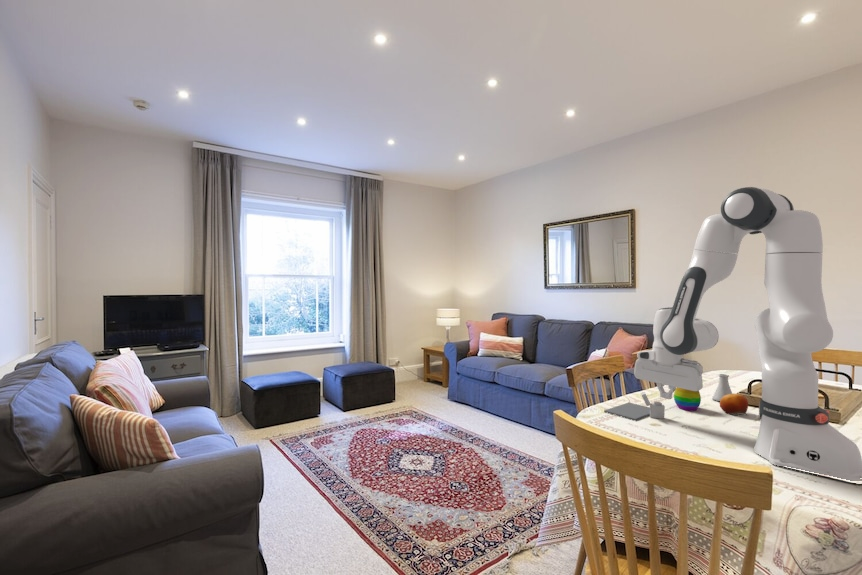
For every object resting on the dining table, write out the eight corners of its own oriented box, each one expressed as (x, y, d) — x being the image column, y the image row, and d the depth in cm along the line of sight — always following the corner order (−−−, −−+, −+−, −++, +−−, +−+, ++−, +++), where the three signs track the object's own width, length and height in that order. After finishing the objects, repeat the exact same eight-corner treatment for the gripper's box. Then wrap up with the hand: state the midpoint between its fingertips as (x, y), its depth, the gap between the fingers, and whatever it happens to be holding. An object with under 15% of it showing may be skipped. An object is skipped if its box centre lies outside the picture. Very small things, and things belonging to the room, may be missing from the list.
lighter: (663, 417, 138) (664, 393, 138) (664, 419, 137) (665, 395, 136) (639, 414, 140) (640, 391, 140) (640, 416, 139) (641, 393, 139)
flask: (707, 399, 159) (708, 373, 158) (719, 397, 162) (719, 372, 162) (728, 404, 152) (728, 377, 152) (739, 402, 155) (739, 375, 155)
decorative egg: (701, 413, 142) (701, 384, 142) (673, 409, 147) (673, 381, 146) (700, 407, 149) (700, 379, 149) (674, 403, 154) (674, 377, 153)
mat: (659, 411, 144) (659, 409, 144) (635, 420, 135) (635, 418, 135) (628, 404, 153) (628, 402, 153) (604, 412, 144) (604, 410, 144)
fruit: (742, 415, 135) (730, 391, 139) (722, 421, 142) (711, 398, 146) (760, 413, 138) (748, 389, 141) (740, 418, 144) (729, 396, 148)
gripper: (707, 361, 128) (705, 405, 128) (642, 350, 145) (640, 389, 145) (698, 363, 124) (696, 408, 125) (632, 352, 141) (631, 392, 141)
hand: (665, 398), depth 135 cm, fingers closed
